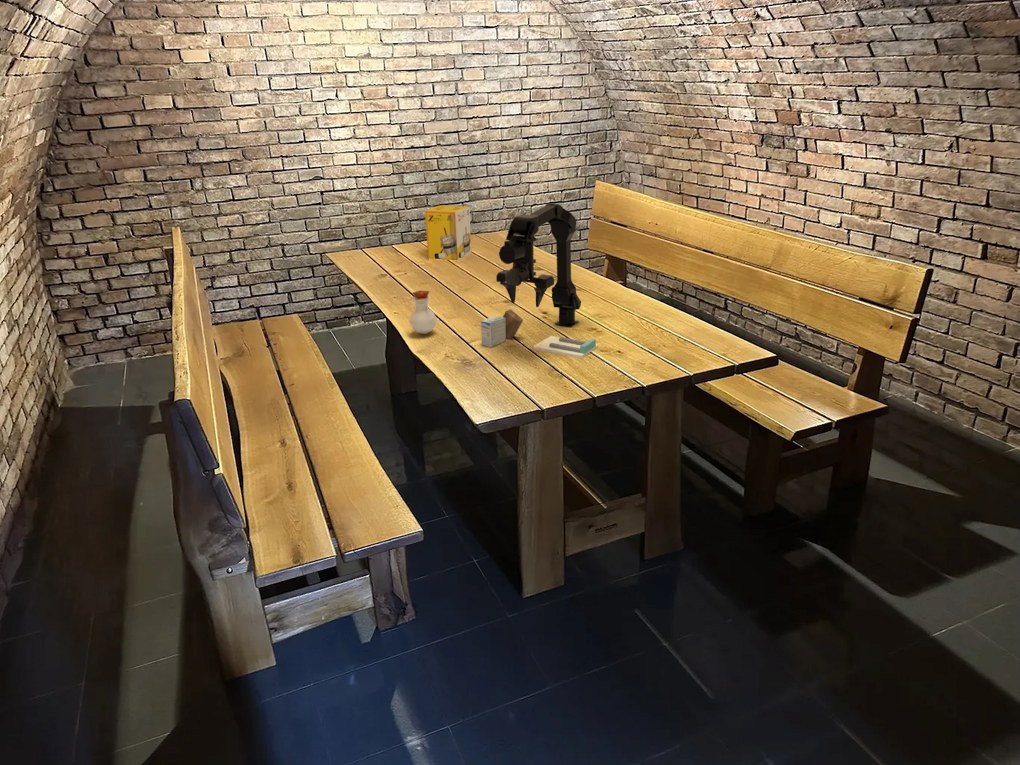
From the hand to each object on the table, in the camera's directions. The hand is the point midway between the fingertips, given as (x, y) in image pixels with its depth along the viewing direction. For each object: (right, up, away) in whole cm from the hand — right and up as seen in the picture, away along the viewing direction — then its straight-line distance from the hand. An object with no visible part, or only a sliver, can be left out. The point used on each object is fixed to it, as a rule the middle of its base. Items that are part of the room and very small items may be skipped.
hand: (525, 304), depth 236 cm
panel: (-7, -3, +16) cm, 18 cm away
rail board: (+14, -14, +6) cm, 20 cm away
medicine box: (-10, -12, +13) cm, 20 cm away
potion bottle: (-36, -8, +24) cm, 44 cm away
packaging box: (-35, +36, +129) cm, 138 cm away
